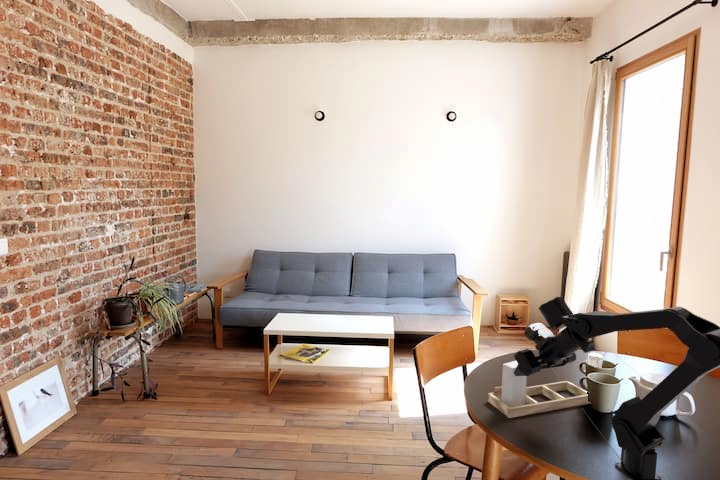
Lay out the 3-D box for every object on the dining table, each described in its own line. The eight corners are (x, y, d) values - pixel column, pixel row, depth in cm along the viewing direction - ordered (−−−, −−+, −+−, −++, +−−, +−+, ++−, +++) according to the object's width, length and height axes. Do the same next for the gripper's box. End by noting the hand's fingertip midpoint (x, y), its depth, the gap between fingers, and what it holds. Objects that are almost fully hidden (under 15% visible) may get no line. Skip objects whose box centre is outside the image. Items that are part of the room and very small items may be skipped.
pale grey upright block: (525, 406, 129) (527, 364, 127) (510, 411, 125) (512, 368, 124) (515, 401, 132) (517, 360, 130) (500, 406, 128) (502, 364, 127)
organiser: (592, 403, 131) (593, 389, 131) (509, 418, 122) (509, 404, 122) (566, 388, 141) (567, 376, 140) (487, 401, 132) (488, 388, 131)
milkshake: (606, 384, 144) (608, 354, 142) (588, 382, 145) (590, 352, 144) (601, 378, 148) (603, 349, 147) (584, 377, 149) (586, 348, 148)
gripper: (568, 311, 122) (532, 339, 133) (521, 321, 113) (487, 350, 123) (594, 348, 116) (554, 374, 127) (547, 362, 107) (508, 388, 117)
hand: (526, 370), depth 124 cm, fingers open, 9 cm apart
